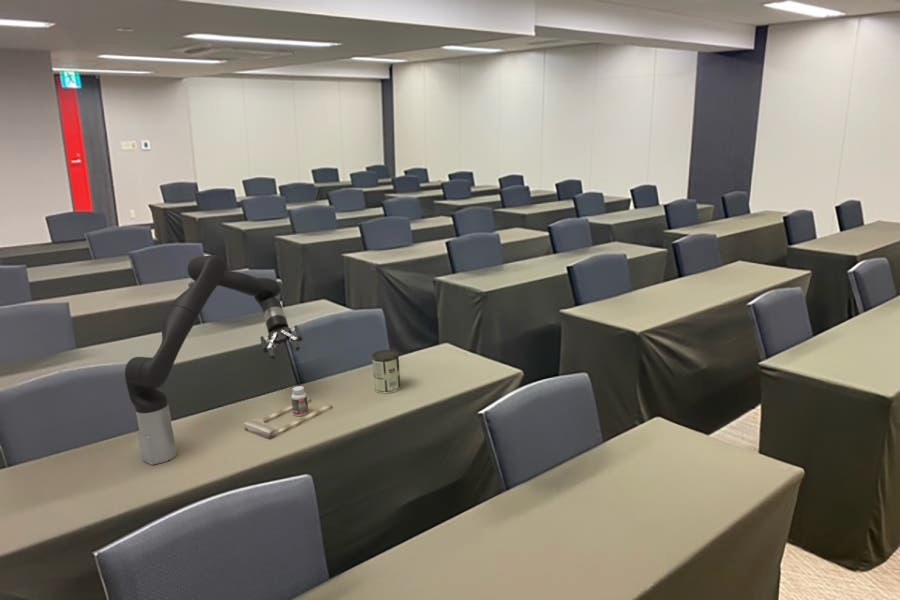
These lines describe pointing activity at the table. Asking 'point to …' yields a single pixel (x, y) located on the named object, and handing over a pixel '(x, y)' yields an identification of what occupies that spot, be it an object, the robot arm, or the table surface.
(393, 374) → the coffee can
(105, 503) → the table surface
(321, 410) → the keeper track
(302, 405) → the pill bottle
